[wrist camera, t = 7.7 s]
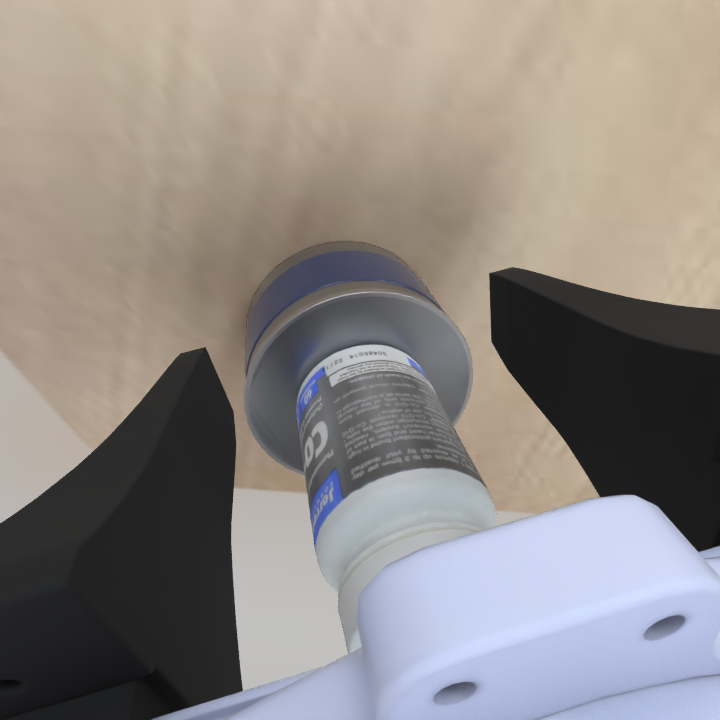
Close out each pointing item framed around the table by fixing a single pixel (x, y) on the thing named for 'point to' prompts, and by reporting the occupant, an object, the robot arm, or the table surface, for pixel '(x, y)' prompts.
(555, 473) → the table surface
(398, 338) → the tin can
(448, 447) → the pill bottle
